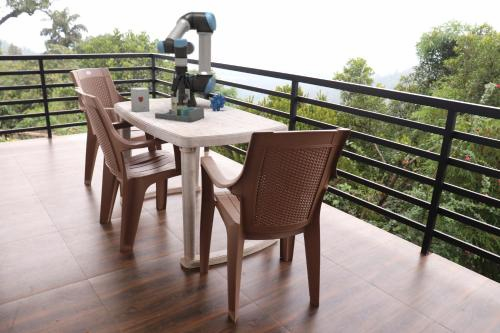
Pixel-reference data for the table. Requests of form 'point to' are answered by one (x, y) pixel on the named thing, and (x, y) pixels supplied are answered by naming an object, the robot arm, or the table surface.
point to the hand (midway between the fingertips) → (181, 101)
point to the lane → (191, 117)
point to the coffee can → (179, 103)
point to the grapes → (217, 102)
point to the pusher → (186, 111)
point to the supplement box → (140, 99)
